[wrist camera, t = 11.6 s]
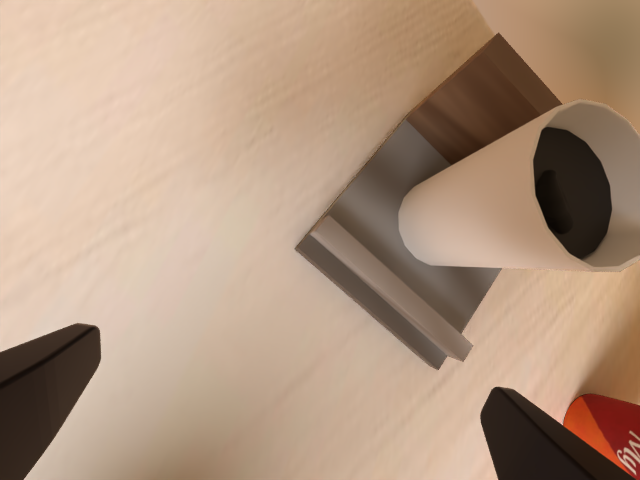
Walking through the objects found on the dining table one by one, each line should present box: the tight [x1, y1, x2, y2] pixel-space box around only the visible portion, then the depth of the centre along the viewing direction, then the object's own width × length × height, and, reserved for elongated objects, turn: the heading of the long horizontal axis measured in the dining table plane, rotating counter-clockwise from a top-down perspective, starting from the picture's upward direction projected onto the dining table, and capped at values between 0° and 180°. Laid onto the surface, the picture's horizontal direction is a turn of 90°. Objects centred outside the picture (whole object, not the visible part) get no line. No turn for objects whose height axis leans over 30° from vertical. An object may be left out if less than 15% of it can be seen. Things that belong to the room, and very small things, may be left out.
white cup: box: [398, 99, 640, 272], centre depth 17 cm, size 7×7×10 cm
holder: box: [295, 33, 563, 370], centre depth 19 cm, size 13×12×8 cm
